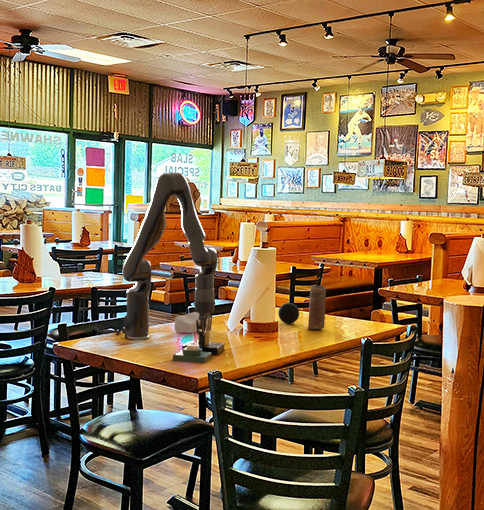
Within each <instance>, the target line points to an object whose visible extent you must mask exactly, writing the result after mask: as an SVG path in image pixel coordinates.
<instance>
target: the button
mask: <svg viewBox="0 0 484 510" xmlns="http://www.w3.org/2000/svg"><path fill="white" fill-rule="evenodd" d="M187 350H198V345H197V344H188V345H187Z"/></svg>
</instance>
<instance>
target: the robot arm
mask: <svg viewBox="0 0 484 510" xmlns="http://www.w3.org/2000/svg"><path fill="white" fill-rule="evenodd" d="M174 197H176V199H177V201H178V202H179V205H180V210H181V215H180V216H181V218H180V219H181V220H180V221H181V228H182V231H183V234H184V235H185V237H186V239H187V242H188V247H189V252H190V257H191V259H192V261H193V263H194V265H196V267H197V266H198V267H200V271H199V272H198V273H197V274H196V275H195V289H194V312H197V313H199V317H198V320H196V328H197V332H196V335H197V336H198V335H199V345H205V332H206V330H208V331H210V332H211V331H212V324H213V315H212V314H211V313H214V312H215V275H216V271H217V267H218V262H219V261H218V260H219V259H218V254H217V251H216V250H215V248H213V247H205V240H206V239H207V238H206V237H207V236H206V234H205V232H204V229H203V227H202V225H201V222H200V220H199V217H198V215H197V211H196V208H195V205H194V201H193V198H192V194H191V189H190V186H189V184H188V180H187V178H186V176H185V175H184V174H182V173H181V172H167V173H166V172H165V173H162V174H160V176H158V177H157V180H156V183H155V185H154V190H153V194H152V198H151V201H150V204H149V206H148V209H147V211H146V214H145V217H144V219H143V221H142V223H141V226H140V229H139V232H138V234H137V237H136V239H135V241H134V244H133V245H132V248H131V250H130V251H129V253H128V255H127V257H126V259H125V262H124V263H123V266H122V277H123V279H124V280H125V281H127V282H130V283H134V282H135V285H133V287H131V288H129V289H127V291H126V315H124V326H123V327H121V328H119V329H112V330H106V331H101V330H99V328H97V330H95V329H94V328H93V329H92V330H91V331H92V332H97V333H98V334H103V335H105V334H106V335H107V334H112V333H116V335H118V336H119V335H120V334H121V333H122V334H124V339H128V340H133V341H143V340H147V339H149V338H150V335H149V334H150V333H149V331H150V330H149V329H150V324H149V323H150V321H149V319H150V292H151V286H152V266H151V262H150V261H149V260H148V259H146V258H145V257H146V255H147V254H148V253H149V252H150V251H152V249H154V248H155V247H156V246H157V245H158V244H159V243H160V241H161V240H162V238H163V235H164V233H165V230H166V228H167V218H166V207H167V204H168V202H169V200H170V199H171V198H174ZM201 330H202V331H201Z"/></svg>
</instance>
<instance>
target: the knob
mask: <svg viewBox="0 0 484 510" xmlns="http://www.w3.org/2000/svg"><path fill="white" fill-rule="evenodd" d="M201 331H202V330H201ZM210 333H211V330H210V331H208V330H206V332H205V345H209V342H210ZM197 341H198V344H199V335H198V334H197Z"/></svg>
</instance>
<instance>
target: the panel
mask: <svg viewBox="0 0 484 510" xmlns="http://www.w3.org/2000/svg"><path fill="white" fill-rule="evenodd" d="M188 344H197V345H198V347H199V348H202V352H212V355H211V356H216V357H218V356H219V355H221V354H222V353H223V352H224V351H225V345H226V344H225V342H215V341H209V345H199V344H198V340H189V341H187V342H185V343H184V344H182V346H181V350H183V348H186V347H187V345H188Z"/></svg>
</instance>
